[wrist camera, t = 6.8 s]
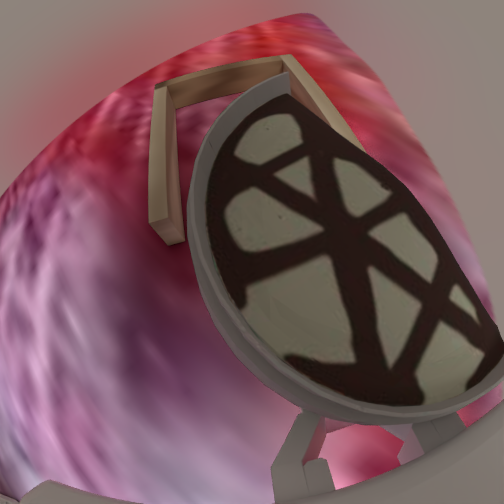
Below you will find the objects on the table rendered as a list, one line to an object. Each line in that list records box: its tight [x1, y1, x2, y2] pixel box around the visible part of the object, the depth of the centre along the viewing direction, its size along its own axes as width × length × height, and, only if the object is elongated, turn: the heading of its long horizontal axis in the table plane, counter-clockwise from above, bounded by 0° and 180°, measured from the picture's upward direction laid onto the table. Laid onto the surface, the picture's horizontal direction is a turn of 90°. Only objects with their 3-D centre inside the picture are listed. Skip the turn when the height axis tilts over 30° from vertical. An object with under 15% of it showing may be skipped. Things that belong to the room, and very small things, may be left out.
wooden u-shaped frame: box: [148, 54, 366, 246], centre depth 19 cm, size 13×16×3 cm
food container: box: [187, 72, 504, 425], centre depth 10 cm, size 12×6×10 cm, turn 31°
